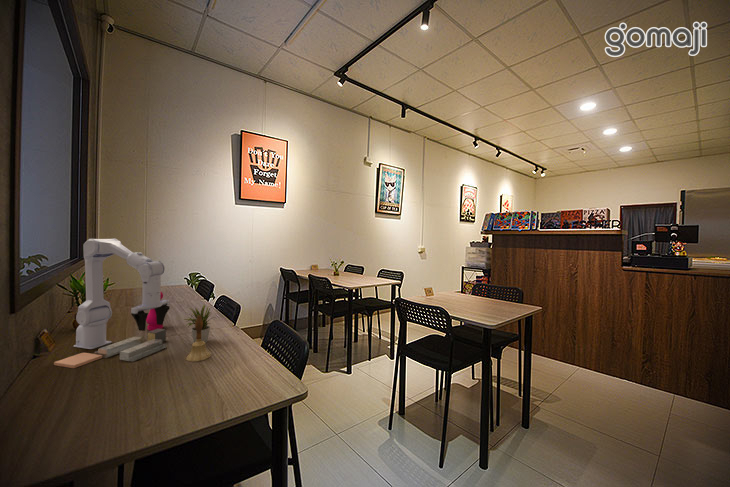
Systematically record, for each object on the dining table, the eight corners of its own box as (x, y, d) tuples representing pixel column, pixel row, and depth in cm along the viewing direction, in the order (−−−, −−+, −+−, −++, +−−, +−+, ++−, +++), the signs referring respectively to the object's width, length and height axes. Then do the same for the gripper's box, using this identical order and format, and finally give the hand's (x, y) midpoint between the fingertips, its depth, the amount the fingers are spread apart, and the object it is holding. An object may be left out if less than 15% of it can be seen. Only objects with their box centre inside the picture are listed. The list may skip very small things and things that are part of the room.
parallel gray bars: (94, 355, 112) (94, 348, 112) (130, 343, 126) (130, 335, 126) (132, 361, 108) (133, 353, 108) (166, 347, 122) (166, 340, 122)
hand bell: (181, 358, 112) (181, 316, 112) (202, 351, 120) (202, 311, 119) (194, 363, 108) (195, 320, 108) (215, 355, 116) (216, 315, 115)
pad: (53, 365, 104) (53, 362, 104) (83, 355, 113) (83, 352, 113) (73, 368, 102) (73, 365, 102) (102, 357, 111) (102, 355, 111)
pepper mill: (154, 331, 141) (155, 289, 140) (142, 330, 142) (142, 288, 141) (167, 327, 148) (168, 286, 147) (155, 325, 149) (156, 285, 149)
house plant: (183, 337, 134) (183, 301, 133) (217, 334, 140) (218, 299, 139) (178, 349, 121) (179, 309, 120) (216, 344, 127) (217, 306, 126)
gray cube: (147, 343, 126) (147, 332, 126) (158, 339, 131) (158, 328, 131) (155, 344, 125) (155, 333, 125) (165, 340, 130) (165, 329, 130)
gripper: (142, 297, 108) (142, 334, 108) (175, 290, 122) (175, 323, 122) (126, 295, 109) (126, 332, 110) (161, 288, 123) (161, 321, 124)
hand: (151, 327), depth 116 cm, fingers open, 7 cm apart
